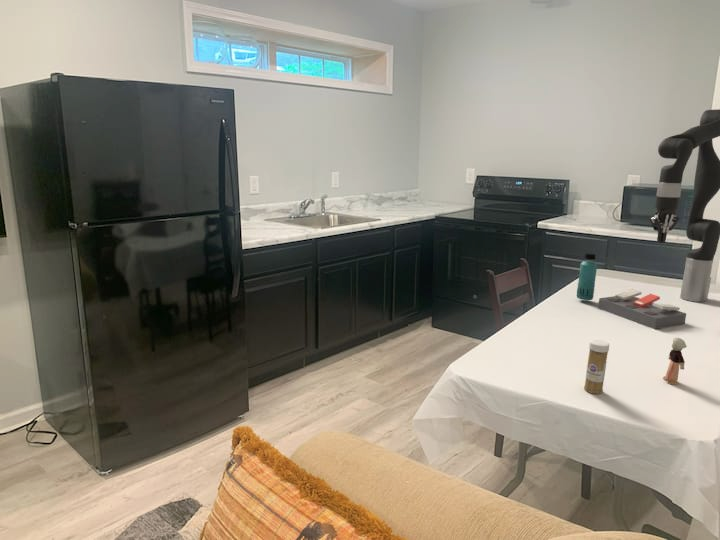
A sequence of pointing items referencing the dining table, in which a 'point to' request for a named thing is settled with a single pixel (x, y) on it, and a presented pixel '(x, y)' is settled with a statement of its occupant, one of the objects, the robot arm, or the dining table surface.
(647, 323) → the power strip
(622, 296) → the grey rocker near bottle
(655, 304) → the grey rocker far end
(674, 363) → the grandmother figurine
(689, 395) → the dining table surface
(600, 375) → the sprinkles bottle
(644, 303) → the block
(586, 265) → the beverage bottle
